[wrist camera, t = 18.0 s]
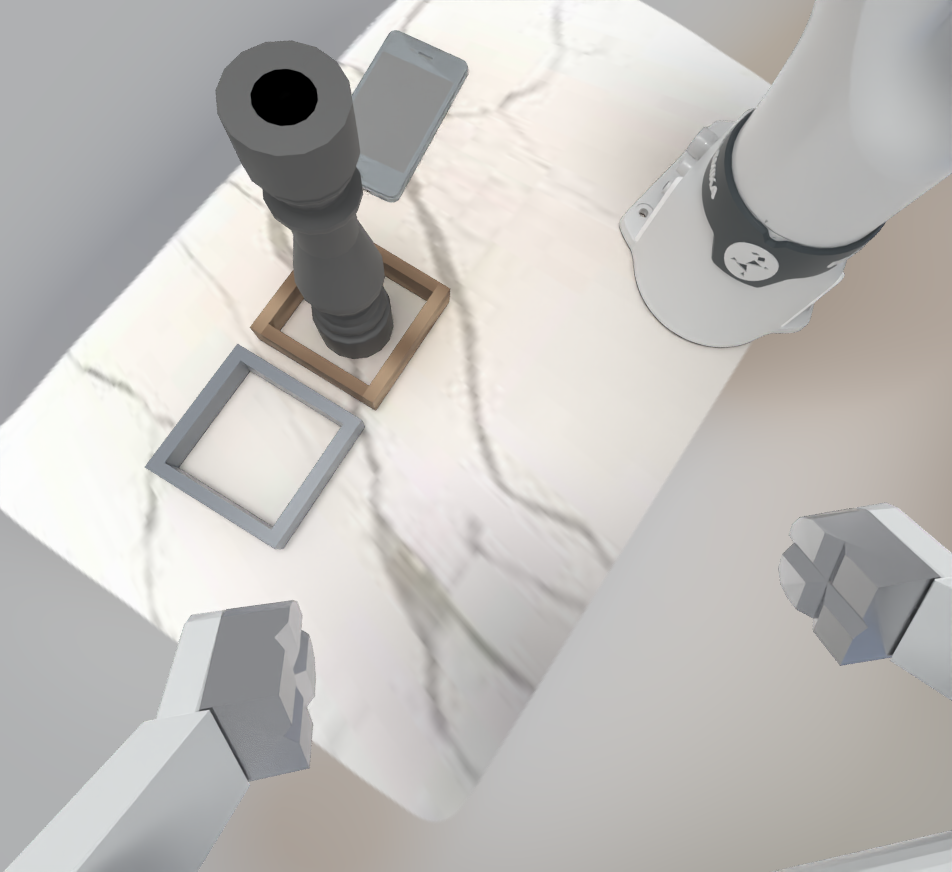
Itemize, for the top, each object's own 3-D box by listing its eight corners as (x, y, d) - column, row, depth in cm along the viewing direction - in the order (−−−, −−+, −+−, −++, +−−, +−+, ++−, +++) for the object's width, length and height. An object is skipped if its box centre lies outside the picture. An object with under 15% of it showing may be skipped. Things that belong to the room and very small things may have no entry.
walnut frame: (337, 234, 51) (332, 217, 48) (449, 301, 50) (450, 288, 48) (258, 338, 48) (249, 327, 46) (375, 410, 48) (373, 402, 45)
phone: (313, 170, 52) (310, 161, 51) (392, 38, 56) (391, 26, 55) (395, 208, 52) (395, 200, 51) (470, 73, 56) (471, 62, 54)
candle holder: (303, 320, 49) (177, 87, 25) (360, 275, 50) (295, 10, 26) (352, 373, 48) (272, 189, 24) (408, 327, 50) (388, 106, 25)
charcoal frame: (247, 354, 48) (237, 343, 46) (364, 426, 48) (361, 419, 45) (159, 471, 46) (144, 467, 43) (282, 549, 45) (274, 548, 43)
